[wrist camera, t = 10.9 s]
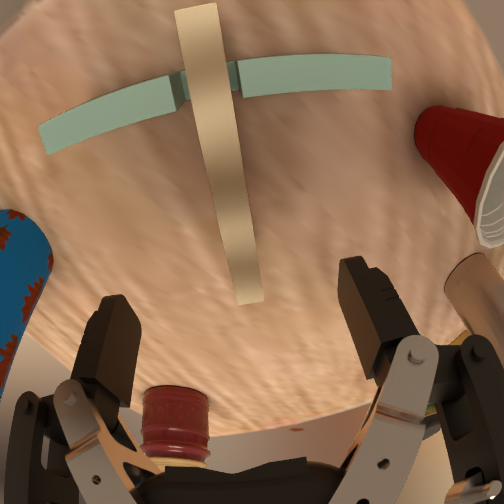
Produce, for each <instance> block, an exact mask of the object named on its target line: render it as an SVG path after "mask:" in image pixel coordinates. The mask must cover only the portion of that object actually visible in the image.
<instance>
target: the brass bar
mask: <svg viewBox="0 0 504 504" xmlns="http://www.w3.org/2000/svg"><path fill="white" fill-rule="evenodd" d="M174 13H175V18H176V24H177V30H178V35H179V41H180V46H181V51H182V57H183V62H184V67H185V72H186V77H187V82H188V87H189V92H190V97H191V102H192V107H193V112H194V117H195V121H196V126H197V131H198V136H199V140H200V145H201V149H202V154H203V159H204V163H205V168H206V172H207V177H208V181H209V185H210V190H211V194H212V199H213V203H214V207H215V211H216V216H217V220H218V224H219V228H220V233H221V237H222V241H223V245H224V249H225V253H226V257H227V261H228V265H229V270H230V274H231V278H232V282H233V285H234V289H235V293H236V297H237V301H238V305H243V304H249V303H256V302H262V301H264V295H263V289H262V282H261V276H260V270H259V263H258V257H257V251H256V244H255V238H254V232H253V225H252V219H251V213H250V206H249V200H248V194H247V187H246V181H245V175H244V169H243V163H242V156H241V150H240V144H239V138H238V132H237V125H236V119H235V113H234V107H233V101H232V95H231V89H230V83H229V77H228V71H227V65H226V59H225V53H224V47H223V41H222V35H221V29H220V23H219V17H218V11H217V5H216V3H210V4H204V5H199V6H194V7H189V8H184V9H180V10H176V11H174Z"/></svg>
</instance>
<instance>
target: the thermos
mask: <svg viewBox="0 0 504 504" xmlns="http://www.w3.org/2000/svg"><path fill="white" fill-rule="evenodd" d="M52 266H53V255H52V250H51V247H50V245H49V243H48V241H47V239H46V237H45V235H44V233H43V232H42V231H41V230H40V229H39V227H38V226H37V225H36V224H35V223H34V222H33V221H32V220H30V219H29V218H28V217H26V216H25V215H24V214H22V213H19V212H17V211H14V210H1V211H0V399H1V398H2V394H3V391H4V387H5V384H6V380H7V377H8V374H9V371H10V368H11V365H12V362H13V360H14V357H15V354H16V351H17V349H18V346H19V343H20V341H21V338H22V336H23V334H24V331H25V329H26V326H27V324H28V322H29V319H30V317H31V315H32V313H33V310H34V308H35V306H36V304H37V302H38V300H39V298H40V296H41V294H42V291H43V289H44V286H45V284H46V282H47V280H48V277H49V275H50V273H51V271H52ZM0 401H1V400H0Z"/></svg>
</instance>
